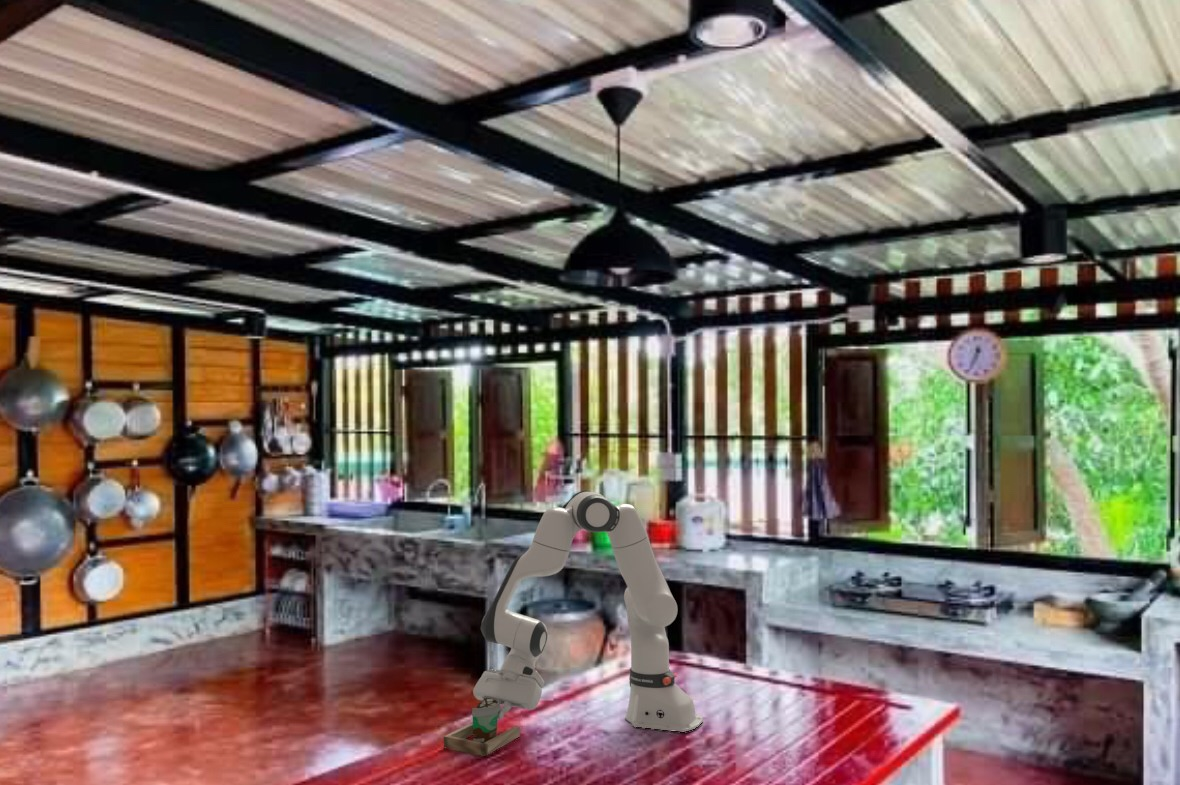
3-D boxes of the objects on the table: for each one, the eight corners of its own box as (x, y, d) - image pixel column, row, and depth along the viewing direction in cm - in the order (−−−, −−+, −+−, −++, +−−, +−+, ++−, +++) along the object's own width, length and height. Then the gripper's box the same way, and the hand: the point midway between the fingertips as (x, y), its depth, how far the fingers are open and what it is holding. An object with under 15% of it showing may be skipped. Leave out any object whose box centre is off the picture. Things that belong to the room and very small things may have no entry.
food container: (493, 748, 241) (494, 710, 241) (471, 746, 242) (471, 708, 242) (505, 732, 253) (505, 696, 254) (484, 730, 254) (484, 694, 255)
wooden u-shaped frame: (519, 737, 249) (519, 726, 249) (484, 757, 235) (484, 745, 235) (479, 729, 255) (479, 718, 256) (443, 747, 241) (443, 736, 241)
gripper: (481, 662, 263) (460, 705, 254) (541, 671, 253) (521, 717, 244) (490, 673, 266) (470, 717, 258) (549, 684, 256) (530, 729, 248)
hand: (495, 717), depth 251 cm, fingers closed
